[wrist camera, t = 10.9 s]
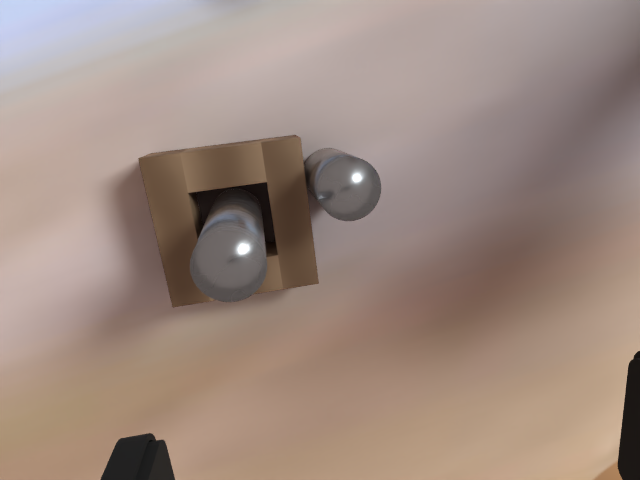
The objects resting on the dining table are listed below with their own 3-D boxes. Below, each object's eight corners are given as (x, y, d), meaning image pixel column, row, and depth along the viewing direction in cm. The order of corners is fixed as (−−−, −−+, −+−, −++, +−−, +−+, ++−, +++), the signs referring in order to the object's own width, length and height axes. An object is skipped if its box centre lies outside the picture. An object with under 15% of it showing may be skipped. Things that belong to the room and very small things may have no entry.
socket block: (295, 134, 32) (300, 137, 28) (312, 267, 35) (318, 283, 31) (150, 153, 31) (138, 158, 27) (180, 288, 34) (172, 307, 30)
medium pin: (349, 144, 33) (378, 153, 25) (354, 193, 34) (383, 215, 26) (300, 151, 32) (314, 161, 25) (306, 201, 33) (322, 225, 26)
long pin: (257, 185, 32) (261, 224, 21) (265, 232, 33) (272, 295, 22) (207, 192, 32) (182, 236, 21) (216, 240, 33) (198, 307, 22)
